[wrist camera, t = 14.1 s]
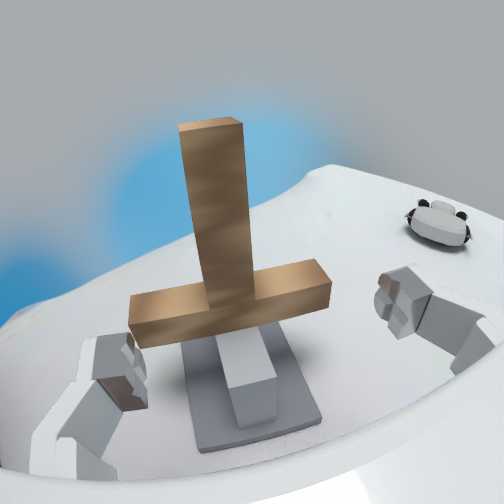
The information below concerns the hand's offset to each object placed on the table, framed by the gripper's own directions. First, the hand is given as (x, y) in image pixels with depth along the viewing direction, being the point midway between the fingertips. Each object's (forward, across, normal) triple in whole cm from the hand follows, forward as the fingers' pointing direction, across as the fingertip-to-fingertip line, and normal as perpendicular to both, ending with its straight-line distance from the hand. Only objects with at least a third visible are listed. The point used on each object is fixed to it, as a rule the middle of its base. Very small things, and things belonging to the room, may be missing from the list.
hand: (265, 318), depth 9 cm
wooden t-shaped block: (+9, 0, +9) cm, 13 cm away
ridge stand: (+9, 0, +17) cm, 19 cm away
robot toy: (+24, -39, +18) cm, 49 cm away
